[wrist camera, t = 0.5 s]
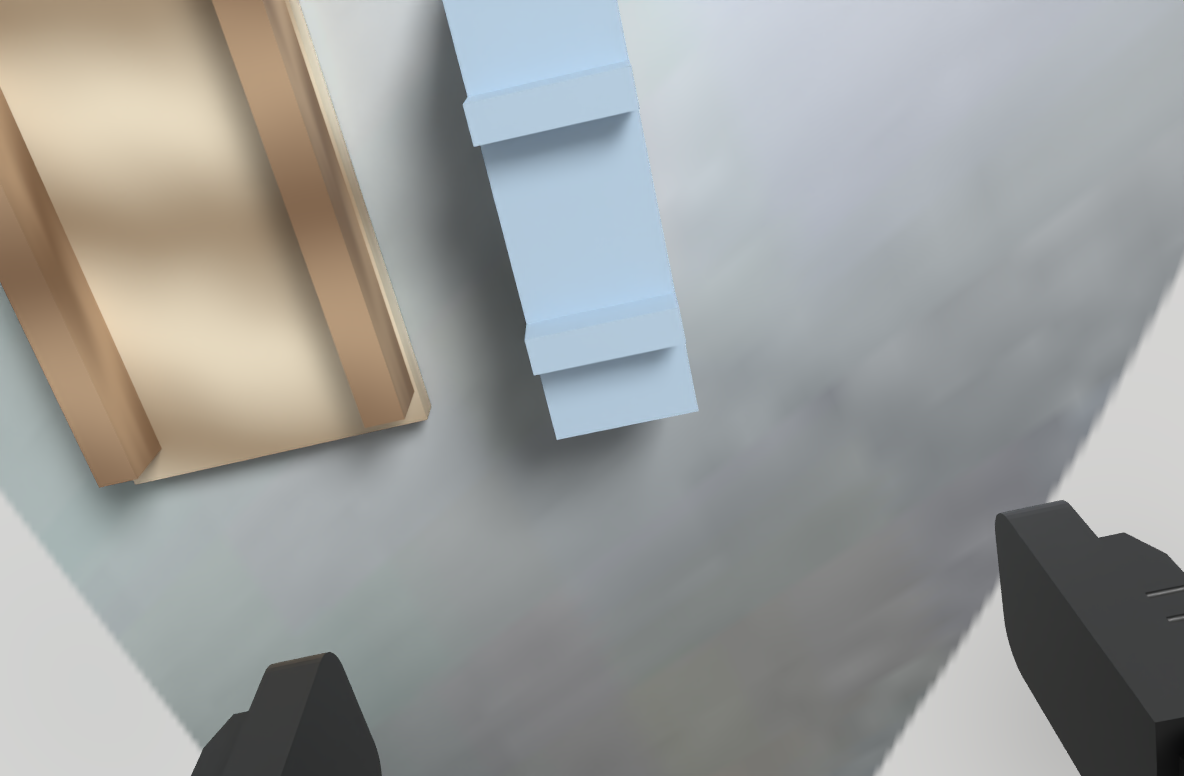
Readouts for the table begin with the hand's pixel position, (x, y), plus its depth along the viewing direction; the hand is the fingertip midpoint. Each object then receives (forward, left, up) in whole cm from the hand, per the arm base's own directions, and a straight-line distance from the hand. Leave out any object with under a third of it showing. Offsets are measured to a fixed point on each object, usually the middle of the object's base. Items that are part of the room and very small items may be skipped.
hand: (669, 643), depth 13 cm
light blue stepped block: (-1, -1, -21) cm, 21 cm away
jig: (-3, -12, -20) cm, 24 cm away
